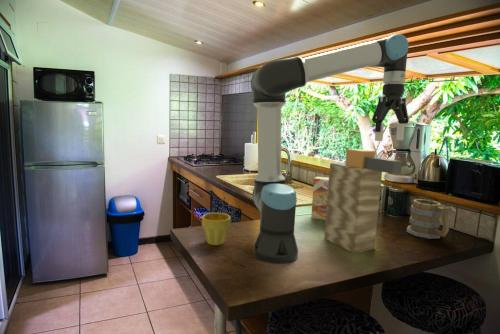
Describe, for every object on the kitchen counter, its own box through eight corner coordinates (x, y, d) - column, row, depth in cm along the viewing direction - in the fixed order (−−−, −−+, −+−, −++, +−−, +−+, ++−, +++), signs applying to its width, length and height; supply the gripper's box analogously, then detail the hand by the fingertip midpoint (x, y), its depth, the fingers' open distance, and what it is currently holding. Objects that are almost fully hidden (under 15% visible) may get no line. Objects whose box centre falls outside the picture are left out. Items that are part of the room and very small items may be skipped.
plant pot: (217, 249, 115) (218, 222, 113) (195, 242, 120) (196, 216, 119) (235, 241, 123) (236, 216, 122) (213, 235, 129) (214, 210, 128)
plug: (403, 173, 108) (404, 154, 107) (390, 173, 105) (392, 155, 104) (357, 164, 125) (358, 149, 124) (345, 165, 122) (346, 149, 122)
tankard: (400, 229, 147) (404, 196, 145) (424, 228, 150) (428, 195, 148) (436, 246, 127) (440, 208, 125) (462, 244, 131) (467, 207, 129)
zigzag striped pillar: (374, 249, 122) (382, 168, 117) (354, 253, 117) (362, 169, 113) (343, 235, 136) (349, 162, 131) (324, 238, 131) (330, 163, 127)
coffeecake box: (310, 218, 158) (313, 178, 155) (313, 214, 164) (316, 176, 162) (343, 223, 152) (346, 181, 150) (344, 219, 159) (348, 179, 156)
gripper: (382, 80, 114) (378, 141, 117) (421, 85, 128) (416, 140, 131) (364, 82, 120) (360, 140, 123) (403, 87, 134) (399, 139, 137)
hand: (389, 140), depth 127 cm, fingers open, 13 cm apart
